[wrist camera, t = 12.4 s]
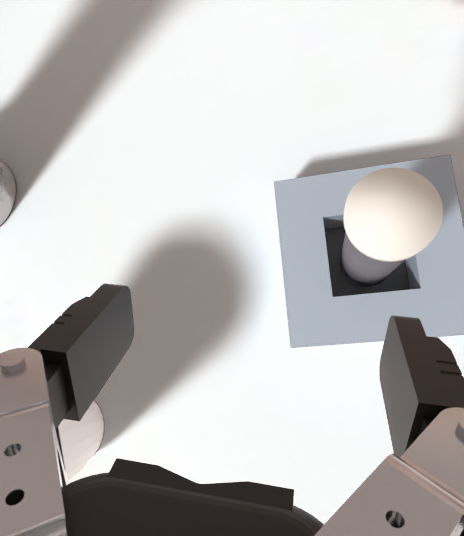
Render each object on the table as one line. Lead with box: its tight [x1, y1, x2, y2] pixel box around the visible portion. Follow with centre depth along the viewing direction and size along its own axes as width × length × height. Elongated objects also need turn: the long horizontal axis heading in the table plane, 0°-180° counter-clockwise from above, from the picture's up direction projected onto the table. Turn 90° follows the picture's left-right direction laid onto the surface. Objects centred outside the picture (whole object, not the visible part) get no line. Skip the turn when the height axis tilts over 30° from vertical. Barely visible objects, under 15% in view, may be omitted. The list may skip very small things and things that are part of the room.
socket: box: [274, 155, 464, 348], centre depth 35 cm, size 14×14×4 cm
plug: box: [340, 168, 443, 287], centre depth 30 cm, size 5×5×15 cm
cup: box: [58, 401, 104, 480], centre depth 33 cm, size 12×12×16 cm
